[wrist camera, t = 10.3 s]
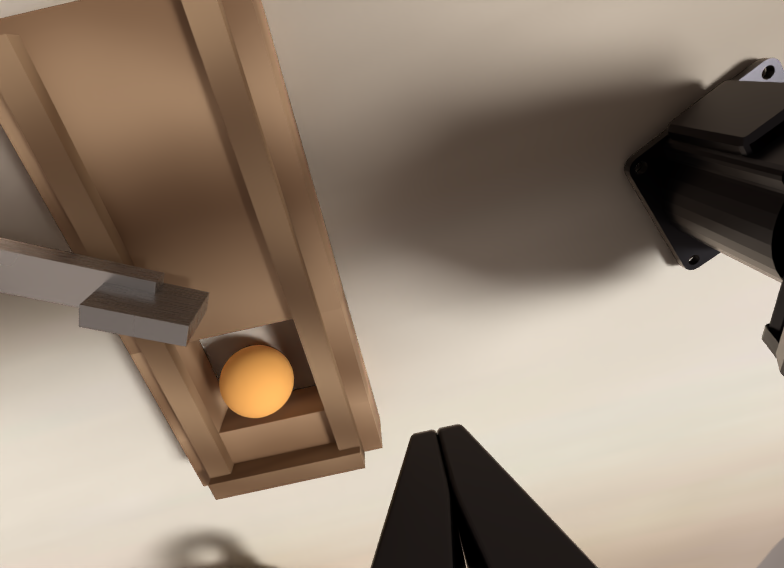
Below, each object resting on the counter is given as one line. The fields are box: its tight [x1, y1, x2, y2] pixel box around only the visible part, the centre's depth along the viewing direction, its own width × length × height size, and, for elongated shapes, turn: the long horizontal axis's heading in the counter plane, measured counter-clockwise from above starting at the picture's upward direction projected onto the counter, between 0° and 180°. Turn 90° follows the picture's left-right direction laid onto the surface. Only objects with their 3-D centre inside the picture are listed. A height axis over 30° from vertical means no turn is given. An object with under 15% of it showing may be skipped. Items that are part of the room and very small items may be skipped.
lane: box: [0, 0, 382, 500], centre depth 18 cm, size 20×9×3 cm, turn 12°
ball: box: [219, 345, 294, 418], centre depth 20 cm, size 3×3×3 cm
